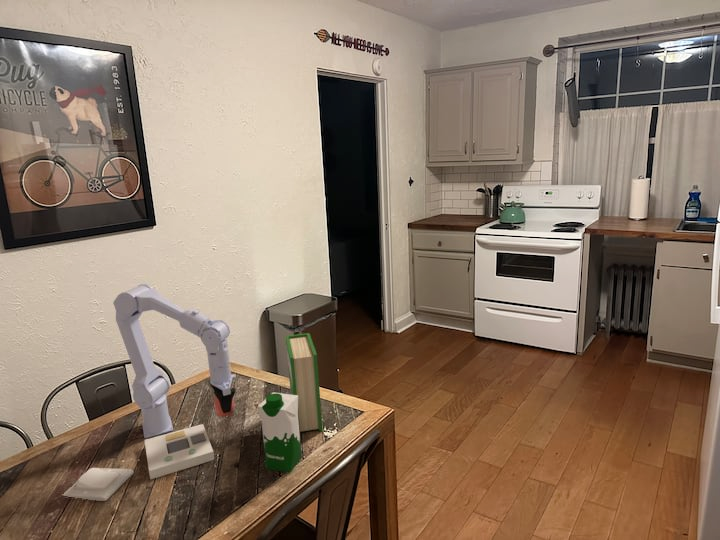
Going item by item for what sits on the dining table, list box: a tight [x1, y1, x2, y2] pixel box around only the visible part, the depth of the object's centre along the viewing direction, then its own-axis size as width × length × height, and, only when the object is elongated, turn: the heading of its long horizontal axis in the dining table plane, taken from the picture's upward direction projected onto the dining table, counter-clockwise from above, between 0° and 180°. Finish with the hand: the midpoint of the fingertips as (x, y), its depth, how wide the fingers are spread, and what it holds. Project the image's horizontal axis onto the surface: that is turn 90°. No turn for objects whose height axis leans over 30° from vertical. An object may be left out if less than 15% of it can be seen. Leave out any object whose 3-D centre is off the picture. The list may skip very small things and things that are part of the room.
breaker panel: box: [144, 423, 215, 480], centre depth 134 cm, size 16×16×3 cm
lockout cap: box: [213, 396, 235, 418], centre depth 141 cm, size 5×5×5 cm
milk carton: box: [257, 392, 303, 474], centre depth 126 cm, size 9×9×20 cm
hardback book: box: [285, 332, 324, 436], centre depth 147 cm, size 18×7×24 cm, turn 13°
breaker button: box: [167, 439, 189, 454], centre depth 135 cm, size 5×5×2 cm
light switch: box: [61, 467, 135, 502], centre depth 123 cm, size 11×4×13 cm
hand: (224, 407), depth 142 cm, fingers closed on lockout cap, 5 cm apart
